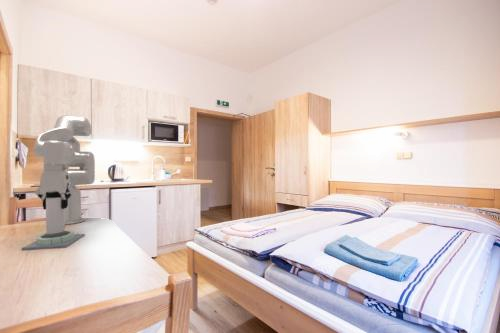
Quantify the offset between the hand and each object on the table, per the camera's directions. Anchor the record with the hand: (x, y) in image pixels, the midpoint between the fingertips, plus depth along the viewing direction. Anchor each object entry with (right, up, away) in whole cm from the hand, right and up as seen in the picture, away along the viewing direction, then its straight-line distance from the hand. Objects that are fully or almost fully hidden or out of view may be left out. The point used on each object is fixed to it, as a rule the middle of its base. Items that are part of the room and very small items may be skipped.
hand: (55, 208), depth 105 cm
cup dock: (0, -15, 0) cm, 15 cm away
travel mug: (0, -12, 0) cm, 12 cm away
